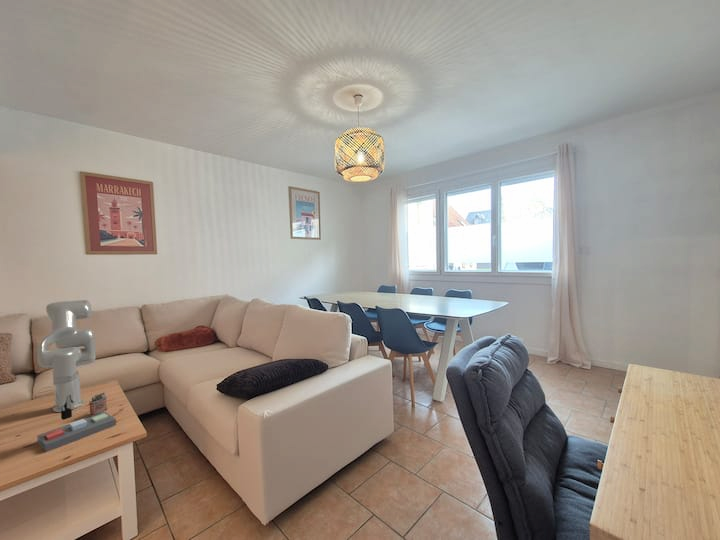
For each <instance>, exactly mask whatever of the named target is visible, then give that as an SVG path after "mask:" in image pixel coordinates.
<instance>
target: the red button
mask: <svg viewBox="0 0 720 540" xmlns="http://www.w3.org/2000/svg"><path fill="white" fill-rule="evenodd" d="M61 435H64V432H63V431H62V430H61V429H58V430H55V431H52V432H50V433H47V434H45V439H46V440H50V439H53V438H56V437H58V436H61Z"/></svg>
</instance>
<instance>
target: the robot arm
mask: <svg viewBox="0 0 720 540" xmlns="http://www.w3.org/2000/svg"><path fill="white" fill-rule="evenodd" d="M45 308H46V309H45V310H46V313H47V316H48V317H49V318H50V320H51V327H52V328H51V332H49V333H48V334H47V335H46V336H45V337H44V338H43V339H42V340H41V341H40V343H39V345H38V349H37V364H38V366H39V367H42V368H49V367H52V381H53V383H52V384H53V385H54V387H55V388H54V389H55V390H54V402H55V404H56V405H55V406H54V407H53V408H52V412H53V413H60V417H61V420H63V421H64V420H66V419H69V418H72V417H73V410H75V409H77V408H80V407H82V406H83V405H84V404H85V400H84V399H81V383H80V382H81V378H80V372H79V371H78V370H77V367H80V366H85V365H90V364H93V363H94V362H95V361H96V357H97V355H96V353H97V352H96V336H95V332H94V330H92V329H91V328H83V329H77V321H76V320H83V319H84V320H85V319H89V318H90V317H91V315H92V303H91V302H90V301H89V300H88V299H83V300H80V299H79V300H70V301H69V300H68V301H67V300H66V301H55V302H51V303H48V304H47V305H46V306H45ZM54 343H55V347H56V348H55V349H50V350H48V348H49V347H51V345H53V344H54ZM79 347H83V348H79Z"/></svg>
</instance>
